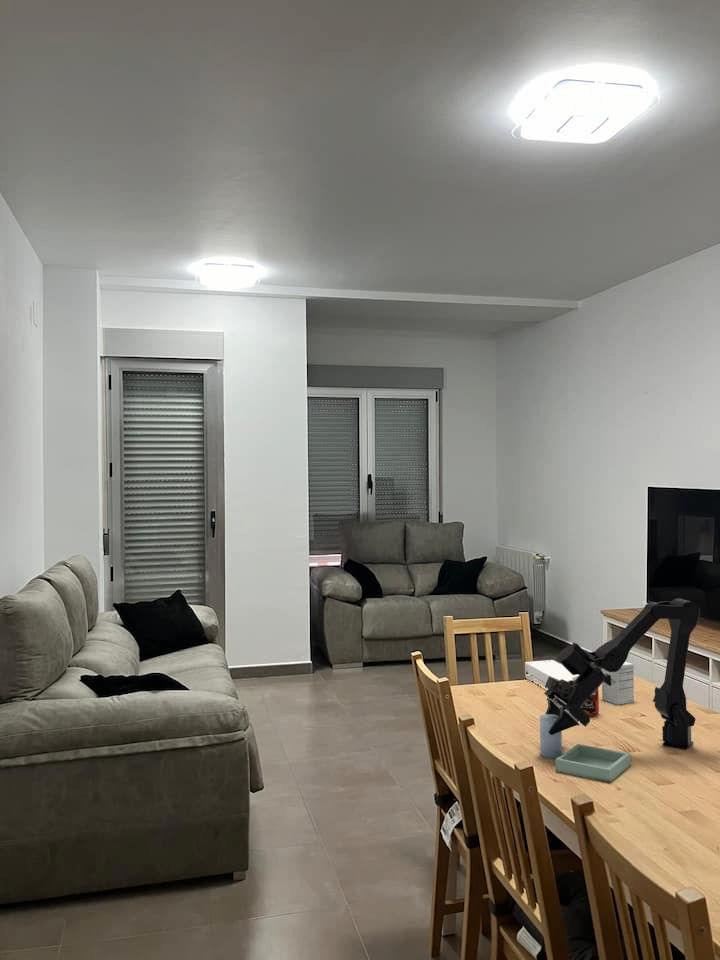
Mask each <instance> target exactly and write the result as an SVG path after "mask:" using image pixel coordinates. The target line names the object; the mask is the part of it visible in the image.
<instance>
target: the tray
mask: <svg viewBox="0 0 720 960" xmlns="http://www.w3.org/2000/svg"><path fill="white" fill-rule="evenodd" d="M554 759H555V763H554V764H555V772H559V773H564V774H567V775H573V776H577V777H581V776H582V778H587V779H591V780H592V779H593V780H594V781H595V780H597V781H600V782H604V783H605V782H606V783H611V782H612V781H614V780H615V779H616V778H617V777H619V776H620V775H621V774H622V773H623V772H625V771H626V770H627V769H628V768H630V767H631V753H628V752H622V751H618V750H610V749H608V748H607V749H606V748H603V747H602V748H601V747H597V746H596V747H595V746H591V745H584V744H580V743H577V744H576V745H574V746H573V747H571V748H569V749H568V750H567V751H565V752H564V753H562V755H561V756H559V757H558V758H554Z"/></svg>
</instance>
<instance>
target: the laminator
mask: <svg viewBox="0 0 720 960" xmlns="http://www.w3.org/2000/svg"><path fill="white" fill-rule="evenodd" d="M524 676H525V679H526V680H528V681H530V682H531V681H533V682H538V684H540V685H542V686H544V687H545V685H546V682H547V680H548V678H549V676H550V677H553V678H555V679H558V680H561V679H563V680H565V681H567V682H568V681H569V680H570V681H571V680H573V677H576V676H579V675H578V674H577V675H572V674H571V673H570V672H569V671H568V670H567V669H566V668H565V667H564V666H563V665H562V664H561V663H560V662H559V661H556V660H555V659H546V660H545V659H544V660H532V661H524ZM534 679H536V680H534ZM533 682H532V683H533ZM545 688H546V687H545ZM547 689H548V688H547Z"/></svg>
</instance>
